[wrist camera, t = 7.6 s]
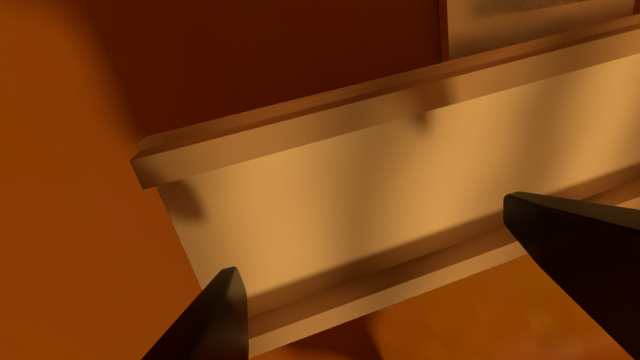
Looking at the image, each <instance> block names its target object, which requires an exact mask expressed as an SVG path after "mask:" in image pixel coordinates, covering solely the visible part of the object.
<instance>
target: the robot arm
mask: <svg viewBox="0 0 640 360" xmlns="http://www.w3.org/2000/svg"><path fill="white" fill-rule="evenodd" d="M503 222H504V225H505V226H506V228H507V229H508V230H509V231H510V233H511V234H512V235H513V236H514V237H515V238H516V240H517V241H518V242H519V243H520V244H521V246H522V247H523V248H524V249H525V250H526V251H527V253H528V254H529V255H530V256H531V257H532V259H533V260H534V261H535V262H536V263H537V264H538V265H539V267H540V268H541V269H542V270H543V271H544V272H545V273H546V274H547V275H548V276H549V277H550V278H551V279H552V280H553V281H555V282H556V283H557V284H558V285H559V286H560V287H561V288H562V289H563V290H564V291H565V292H566V293H567V294H568V295H569V296H570V297H571V298H572V299H573V300H574V301H575V302H576V303H577V304H578V305H579V306H580V307H581V308H582V309H583V310H584V311H585V312H586V313H587V314H588V315H589V316H590V317H591V318H592V319H593V320H594V321H596V322H597V323H598V324H599V325H600V326H601V327H602V328H603V329H604V330H605V331H606V332H607V333H608V334H609V335H610V336H611V337H612V338H613V339H614V340H615V341H616V342H617V343H618V344H619V345H620V346H621V347H622V348H623V349H624V350H625V351H626V352H627V353H628V354H629V355H630V356H631V357H632V358H633V359H634V360H640V210H639V209H632V208H626V207H619V206H613V205H606V204H600V203H593V202H587V201H580V200H574V199H568V198H561V197H555V196H548V195H542V194H535V193H529V192H522V191H517V192H513V193H509V194H506V195H505V196H504V198H503ZM248 358H249V332H248V309H247V293H246V289H245V286H244V283H243V281H242V278H241V276H240V273H239V270H238V268H237V267H236V266H232V267H228V268H225V269H222V270H220V271H219V272H218V274H217V275H216V276H215V277H214V278H213V279H212V280H211V281H210V283H209V284H208V285H207V286H206V287H205V288H204V289H203V290H202V292H201V293H200V294H199V295H198V296H197V297H196V298H195V299H194V301H193V302H192V303H191V304H190V305H189V306H188V307H187V308H186V310H185V311H184V312H183V313H182V314H181V315H180V316H179V317H178V319H177V320H176V321H175V322H174V323H173V324H172V325H171V326H170V328H169V329H168V330H167V331H166V332H165V333H164V334H163V335H162V337H161V338H160V339H159V340H158V341H157V342H156V343H155V344H154V346H153V347H152V348H151V349H150V350H149V351H148V352H147V353H146V355H145V356H144V357H143V358H142V359H141V360H248Z"/></svg>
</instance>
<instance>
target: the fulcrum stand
mask: <svg viewBox="0 0 640 360" xmlns="http://www.w3.org/2000/svg"><path fill="white" fill-rule="evenodd" d="M438 3H439V22H440V41H441V61H442V63H443V62H447V61H451V60H455V59H459V58H463V57H467V56H471V55H475V54H479V53H483V52H487V51H491V50H495V49H499V48H503V47H507V46H511V45H515V44H519V43H523V42H527V41H531V40H535V39H539V38H543V37H547V36H551V35H555V34H560V33H564V32H568V31H572V30H576V29H580V28H584V27H588V26H592V25H596V24H600V23H604V22H608V21H612V20H616V19H620V18H624V17H628V16H632V15H633V9H634V3H635V0H438Z"/></svg>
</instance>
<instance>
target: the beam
mask: <svg viewBox="0 0 640 360" xmlns="http://www.w3.org/2000/svg"><path fill="white" fill-rule="evenodd" d="M137 145H138V147H139V149H140V152H139V153H138V154H136V155H135V156H134V157H133V158H132V159H131V160H130V163H131V165H132V167H133V169H134V171H135V173H136V175H137V178H138V180H139V182H140V184H141V186H142V188H143V189H147V188H150V187H154V186H156V187H157V190H158V192H159V194H160V196H161V198H162V201H163V203H164V205H165V207H166V210H167V212H168V214H169V216H170V219H171V221H172V223H173V225H174V228H175V230H176V232H177V234H178V237H179V239H180V241H181V243H182V246H183V248H184V250H185V252H186V254H187V257H188V259H189V261H190V263H191V266H192V268H193V270H194V272H195V275H196V277H197V279H198V281H199V284H200V286H201V288H202V290H203V289H204V288H205V287H206V286H207V285H208V284H209V283H210V281H211V280H212V279H213V278H214V277H215V276H216V275H217V274H218V272H219V271H220V270H222V269H225V268H228V267H232V266H236V267H237V268H238V270H239V273H240V276H241V278H242V281H243V283H244V286H245V289H246V293H247V309H248V332H249V358H251V357H254V356H257V355H259V354H262V353H265V352H267V351H270V350H273V349H275V348H278V347H281V346H283V345H286V344H289V343H291V342H294V341H297V340H299V339H302V338H305V337H307V336H310V335H313V334H315V333H318V332H321V331H323V330H326V329H329V328H331V327H334V326H337V325H339V324H342V323H345V322H347V321H350V320H353V319H355V318H358V317H361V316H363V315H366V314H369V313H371V312H374V311H377V310H379V309H382V308H385V307H387V306H390V305H393V304H395V303H398V302H401V301H403V300H406V299H409V298H411V297H414V296H417V295H419V294H422V293H425V292H427V291H430V290H433V289H435V288H438V287H441V286H443V285H446V284H449V283H451V282H454V281H457V280H459V279H462V278H465V277H467V276H470V275H473V274H475V273H478V272H481V271H483V270H486V269H489V268H491V267H494V266H497V265H499V264H502V263H505V262H507V261H510V260H513V259H515V258H518V257H521V256H523V255H526V254H528V253H527V251H526V250H525V249H524V248H523V247H522V246H521V244H520V243H519V242H518V241H517V240H516V238H515V237H514V236H513V235H512V234H511V233H510V231H509V230H508V229H507V228H506V226H505V225H504V222H503V198H504V196H505V195H506V194H509V193H513V192H517V191H522V192H529V193H535V194H542V195H548V196H555V197H561V198H568V199H574V200H580V201H587V202H593V203H600V204H606V205H613V206H619V207H626V208H632V209H639V210H640V14H636V15H632V16H628V17H624V18H620V19H616V20H612V21H608V22H604V23H600V24H596V25H592V26H588V27H584V28H580V29H576V30H572V31H568V32H564V33H560V34H555V35H551V36H547V37H543V38H539V39H535V40H531V41H527V42H523V43H519V44H515V45H511V46H507V47H503V48H499V49H495V50H491V51H487V52H483V53H479V54H475V55H471V56H467V57H463V58H459V59H455V60H451V61H447V62H443V63H439V64H435V65H431V66H427V67H423V68H419V69H415V70H411V71H407V72H403V73H399V74H395V75H391V76H387V77H383V78H379V79H375V80H371V81H367V82H363V83H359V84H355V85H351V86H347V87H343V88H339V89H335V90H331V91H327V92H323V93H319V94H315V95H311V96H307V97H303V98H299V99H295V100H291V101H287V102H283V103H278V104H274V105H270V106H266V107H262V108H258V109H254V110H250V111H246V112H242V113H238V114H234V115H230V116H226V117H222V118H218V119H214V120H210V121H206V122H202V123H198V124H194V125H190V126H186V127H182V128H178V129H174V130H170V131H166V132H162V133H158V134H154V135H150V136H146V137H145V138H144V139H143V140H141V141H140V142H139V143H138V144H137ZM249 358H248V359H249Z"/></svg>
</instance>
